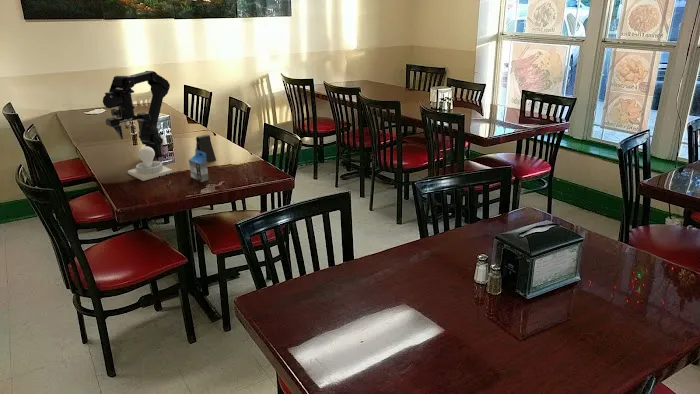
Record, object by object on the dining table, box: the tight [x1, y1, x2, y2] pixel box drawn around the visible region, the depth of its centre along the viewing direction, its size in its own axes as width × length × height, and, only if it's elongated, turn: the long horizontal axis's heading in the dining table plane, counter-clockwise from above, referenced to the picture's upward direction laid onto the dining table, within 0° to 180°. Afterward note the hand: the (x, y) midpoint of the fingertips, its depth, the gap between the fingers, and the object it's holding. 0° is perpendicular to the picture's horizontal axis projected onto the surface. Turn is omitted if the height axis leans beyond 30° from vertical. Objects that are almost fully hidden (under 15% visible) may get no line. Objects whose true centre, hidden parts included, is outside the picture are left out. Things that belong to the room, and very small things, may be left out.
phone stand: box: [195, 134, 217, 163], centre depth 247 cm, size 9×6×12 cm, turn 46°
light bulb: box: [138, 145, 155, 168], centre depth 228 cm, size 7×7×11 cm
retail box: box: [188, 148, 209, 183], centre depth 221 cm, size 9×4×12 cm, turn 47°
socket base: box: [127, 160, 173, 182], centre depth 230 cm, size 14×14×4 cm
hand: (131, 137), depth 238 cm, fingers open, 9 cm apart
